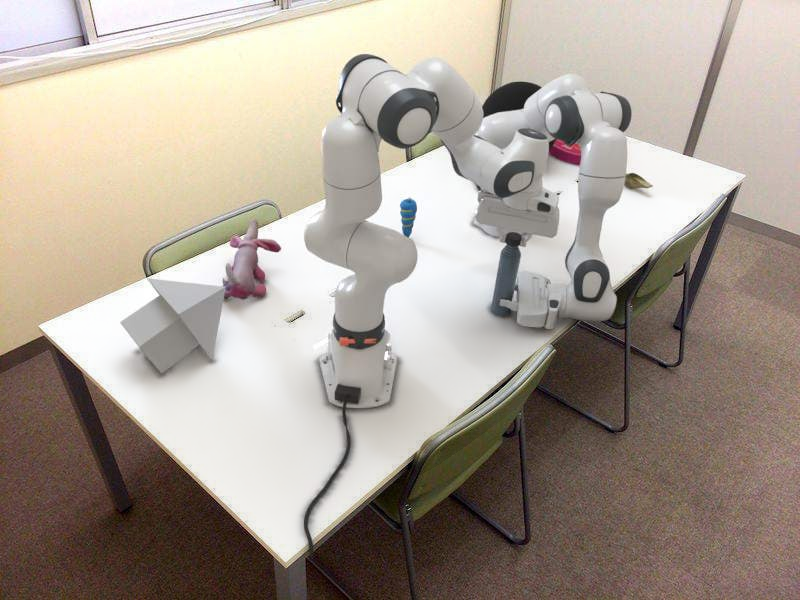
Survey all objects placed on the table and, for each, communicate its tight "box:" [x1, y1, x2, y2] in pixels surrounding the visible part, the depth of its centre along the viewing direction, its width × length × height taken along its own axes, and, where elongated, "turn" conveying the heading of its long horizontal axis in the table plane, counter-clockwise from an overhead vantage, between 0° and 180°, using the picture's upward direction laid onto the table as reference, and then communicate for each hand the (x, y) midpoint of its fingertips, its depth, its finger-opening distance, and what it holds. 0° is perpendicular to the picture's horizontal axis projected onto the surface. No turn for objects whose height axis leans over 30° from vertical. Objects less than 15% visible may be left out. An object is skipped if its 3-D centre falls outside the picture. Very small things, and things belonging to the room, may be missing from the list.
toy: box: [221, 218, 282, 301], centre depth 179 cm, size 19×24×15 cm
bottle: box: [490, 244, 522, 317], centre depth 171 cm, size 5×5×23 cm
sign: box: [548, 139, 581, 166], centre depth 263 cm, size 30×4×30 cm
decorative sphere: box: [481, 80, 556, 150], centre depth 243 cm, size 30×30×30 cm
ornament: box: [399, 195, 418, 238], centre depth 199 cm, size 5×5×15 cm
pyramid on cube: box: [119, 277, 226, 374], centre depth 156 cm, size 17×24×18 cm
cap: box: [505, 232, 523, 247], centre depth 165 cm, size 4×4×2 cm
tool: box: [624, 172, 654, 189], centre depth 240 cm, size 22×6×5 cm, turn 26°
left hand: (512, 243), depth 165 cm, fingers closed on cap, 4 cm apart
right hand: (500, 294), depth 175 cm, fingers closed on bottle, 5 cm apart
